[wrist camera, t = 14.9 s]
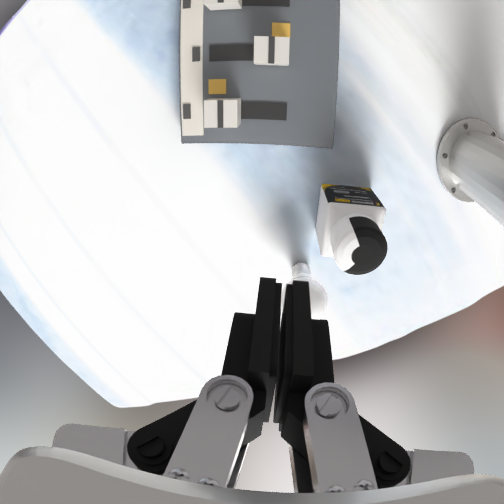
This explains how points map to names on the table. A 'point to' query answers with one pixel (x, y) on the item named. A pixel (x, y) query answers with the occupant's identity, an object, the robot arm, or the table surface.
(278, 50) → the switch
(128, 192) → the table surface
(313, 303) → the lightbulb
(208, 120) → the switch
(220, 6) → the switch
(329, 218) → the medicine bottle
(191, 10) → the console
